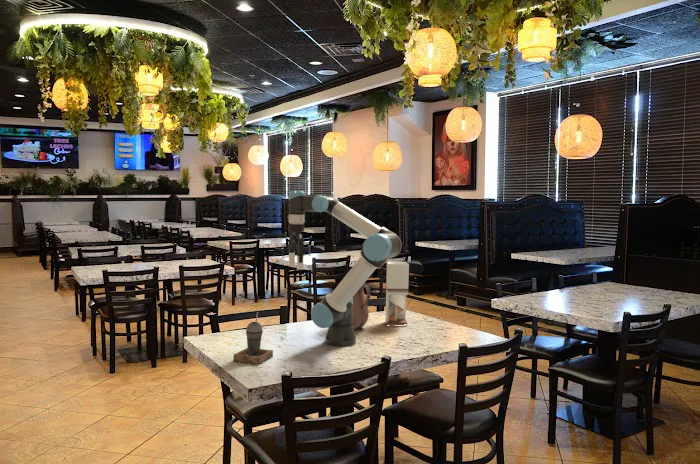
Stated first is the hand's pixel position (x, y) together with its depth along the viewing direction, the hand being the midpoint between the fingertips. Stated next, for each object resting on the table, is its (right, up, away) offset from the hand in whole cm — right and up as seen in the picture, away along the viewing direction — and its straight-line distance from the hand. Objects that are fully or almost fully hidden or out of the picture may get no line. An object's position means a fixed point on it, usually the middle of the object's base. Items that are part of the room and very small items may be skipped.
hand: (295, 267), depth 260 cm
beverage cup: (-16, -37, -26) cm, 48 cm away
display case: (+52, -35, +47) cm, 79 cm away
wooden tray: (-16, -38, -26) cm, 48 cm away
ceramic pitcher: (+29, -36, +36) cm, 58 cm away
